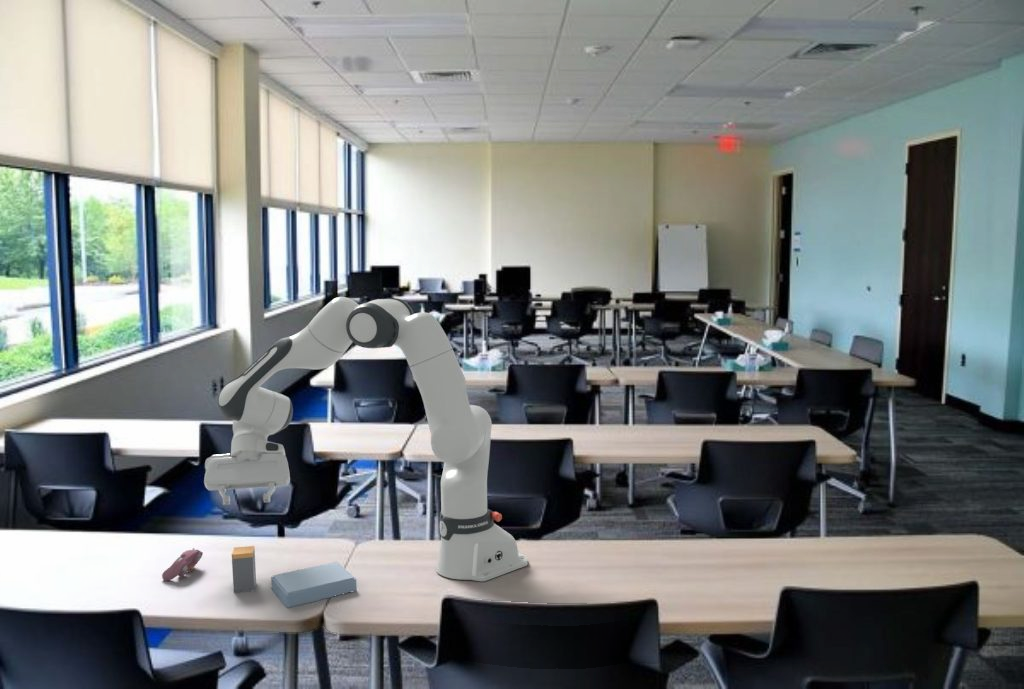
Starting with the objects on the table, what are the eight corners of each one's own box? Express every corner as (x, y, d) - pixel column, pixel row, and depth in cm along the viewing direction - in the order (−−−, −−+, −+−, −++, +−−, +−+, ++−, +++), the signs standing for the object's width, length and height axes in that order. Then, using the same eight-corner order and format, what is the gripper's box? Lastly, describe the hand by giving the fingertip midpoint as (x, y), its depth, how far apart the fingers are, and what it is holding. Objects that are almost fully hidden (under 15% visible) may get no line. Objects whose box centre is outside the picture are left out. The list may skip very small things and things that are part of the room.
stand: (338, 573, 200) (338, 560, 199) (356, 591, 190) (356, 577, 189) (271, 588, 191) (271, 575, 191) (286, 607, 181) (286, 593, 181)
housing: (236, 584, 194) (234, 547, 193) (256, 582, 195) (254, 545, 194) (233, 592, 190) (231, 554, 189) (254, 590, 191) (252, 552, 189)
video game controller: (175, 588, 196) (185, 564, 195) (159, 579, 196) (169, 554, 195) (198, 572, 206) (208, 548, 204) (183, 563, 206) (193, 539, 205)
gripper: (204, 448, 206) (199, 499, 198) (289, 444, 210) (288, 493, 202) (207, 461, 211) (203, 511, 203) (291, 457, 215) (290, 505, 207)
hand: (246, 502), depth 202 cm, fingers open, 8 cm apart
